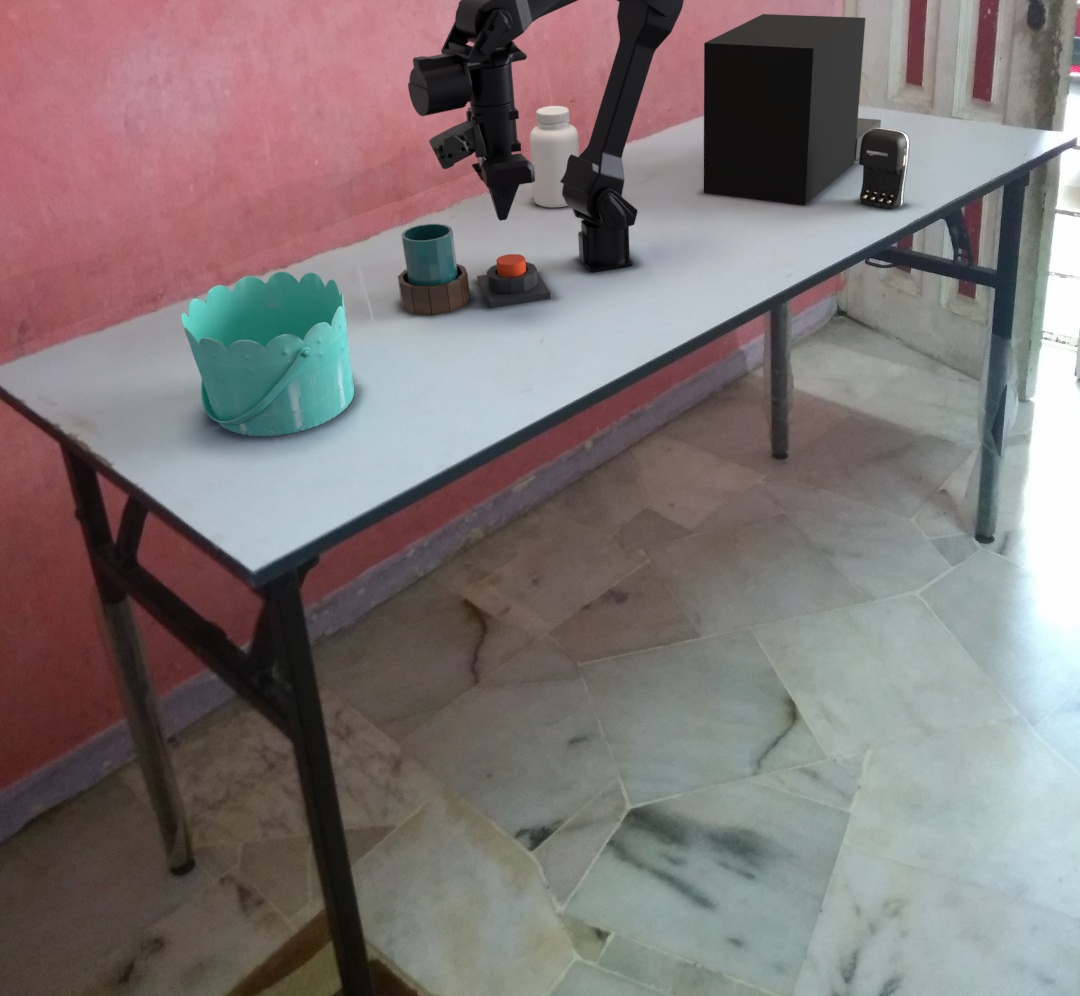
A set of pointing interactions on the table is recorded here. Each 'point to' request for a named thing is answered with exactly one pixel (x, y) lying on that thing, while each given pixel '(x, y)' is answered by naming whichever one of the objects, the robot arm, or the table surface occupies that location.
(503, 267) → the release button
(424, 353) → the table surface
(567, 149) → the pill bottle
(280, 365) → the basket
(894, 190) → the battery charger
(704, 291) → the table surface
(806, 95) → the matte black box
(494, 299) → the button housing
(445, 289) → the stave barrel planter
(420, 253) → the cup
